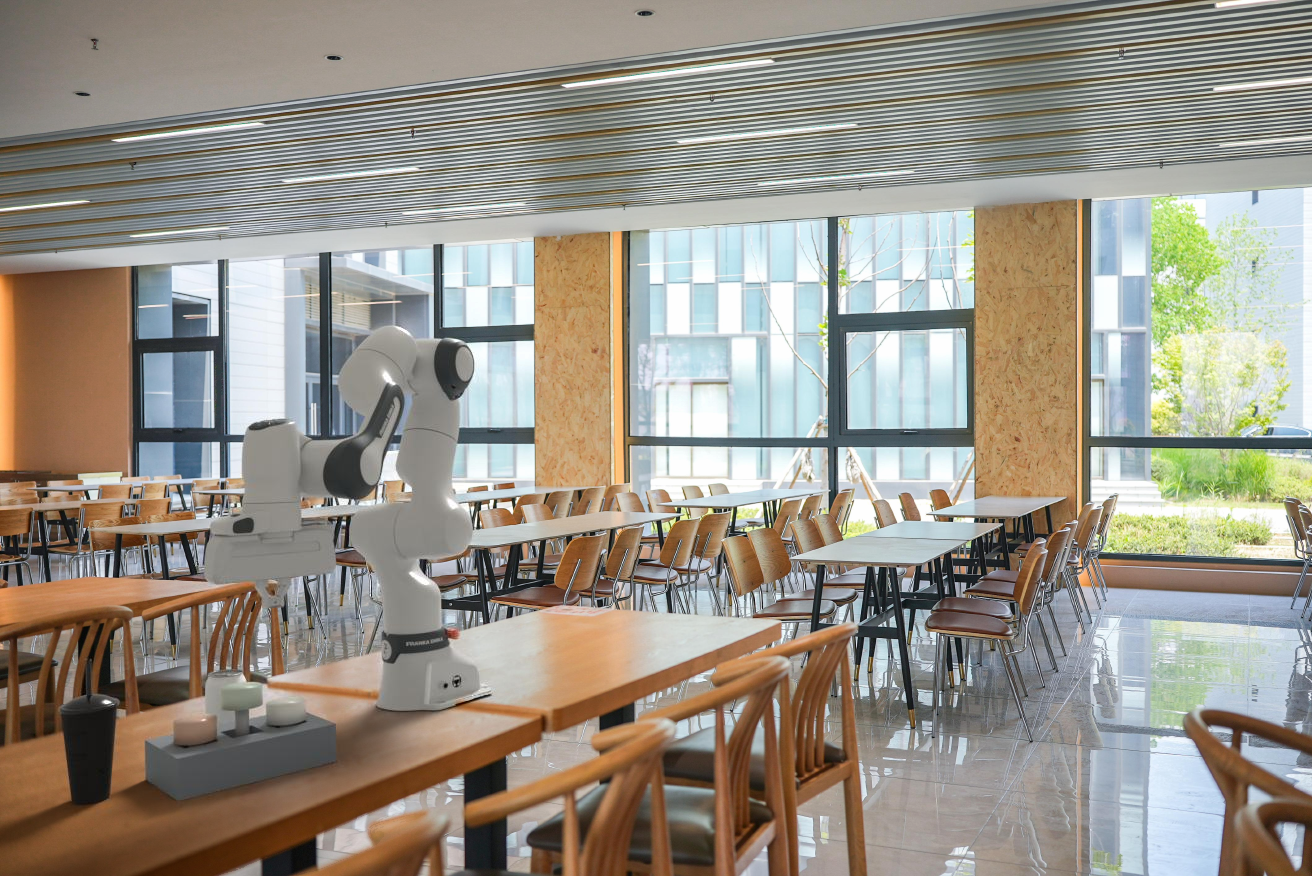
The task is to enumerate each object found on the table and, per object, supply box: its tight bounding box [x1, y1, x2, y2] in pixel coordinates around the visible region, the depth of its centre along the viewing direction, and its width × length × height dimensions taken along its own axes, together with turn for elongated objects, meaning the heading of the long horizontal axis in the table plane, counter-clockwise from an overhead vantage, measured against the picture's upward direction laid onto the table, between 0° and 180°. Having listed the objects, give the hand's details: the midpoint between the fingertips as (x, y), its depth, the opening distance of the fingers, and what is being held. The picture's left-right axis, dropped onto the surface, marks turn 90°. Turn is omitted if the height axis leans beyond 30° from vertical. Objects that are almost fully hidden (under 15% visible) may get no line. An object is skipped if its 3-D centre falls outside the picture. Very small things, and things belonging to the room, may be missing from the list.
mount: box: [144, 711, 338, 802], centre depth 156 cm, size 24×14×6 cm, turn 134°
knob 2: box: [265, 696, 307, 728], centre depth 161 cm, size 6×6×8 cm
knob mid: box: [221, 681, 264, 737], centre depth 156 cm, size 6×6×8 cm
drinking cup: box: [58, 658, 120, 806], centre depth 144 cm, size 8×8×20 cm
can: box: [204, 668, 247, 725], centre depth 171 cm, size 6×6×12 cm
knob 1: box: [172, 713, 217, 748], centre depth 151 cm, size 6×6×8 cm
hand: (273, 607), depth 159 cm, fingers closed
